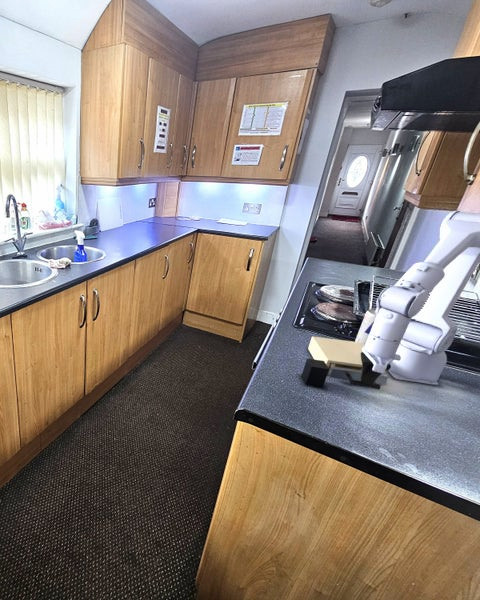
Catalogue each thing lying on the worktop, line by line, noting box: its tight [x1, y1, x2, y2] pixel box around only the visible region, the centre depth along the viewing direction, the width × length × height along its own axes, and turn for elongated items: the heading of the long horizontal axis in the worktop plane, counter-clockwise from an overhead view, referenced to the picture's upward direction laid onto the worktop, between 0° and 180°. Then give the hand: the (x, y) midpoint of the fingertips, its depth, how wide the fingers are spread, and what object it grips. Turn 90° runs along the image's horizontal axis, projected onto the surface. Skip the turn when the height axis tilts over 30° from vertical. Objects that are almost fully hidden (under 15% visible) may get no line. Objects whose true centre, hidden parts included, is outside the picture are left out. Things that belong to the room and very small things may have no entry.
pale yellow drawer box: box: [307, 335, 387, 374], centre depth 95 cm, size 14×14×5 cm
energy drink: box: [354, 308, 377, 344], centre depth 102 cm, size 5×5×12 cm
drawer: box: [327, 363, 389, 390], centre depth 90 cm, size 17×12×3 cm
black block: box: [300, 358, 329, 389], centre depth 87 cm, size 4×4×6 cm
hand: (365, 382), depth 83 cm, fingers closed, pressing on drawer
